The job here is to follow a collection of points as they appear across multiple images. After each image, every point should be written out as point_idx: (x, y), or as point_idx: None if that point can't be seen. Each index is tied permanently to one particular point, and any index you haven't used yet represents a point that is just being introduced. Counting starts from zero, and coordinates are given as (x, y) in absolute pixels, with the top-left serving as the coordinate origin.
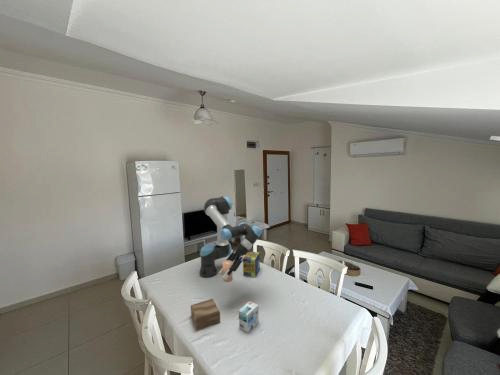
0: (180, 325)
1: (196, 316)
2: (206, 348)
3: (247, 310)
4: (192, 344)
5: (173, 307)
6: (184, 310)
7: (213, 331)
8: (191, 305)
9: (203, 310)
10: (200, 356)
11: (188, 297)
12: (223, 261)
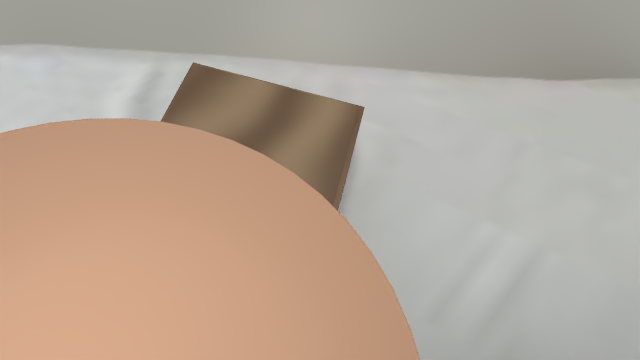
0: (313, 81)
1: (213, 72)
2: (47, 90)
3: None
4: (136, 62)
5: (500, 118)
6: (428, 148)
7: None
8: (358, 108)
9: (231, 131)
10: (38, 53)
11: (565, 231)
12: (352, 281)
